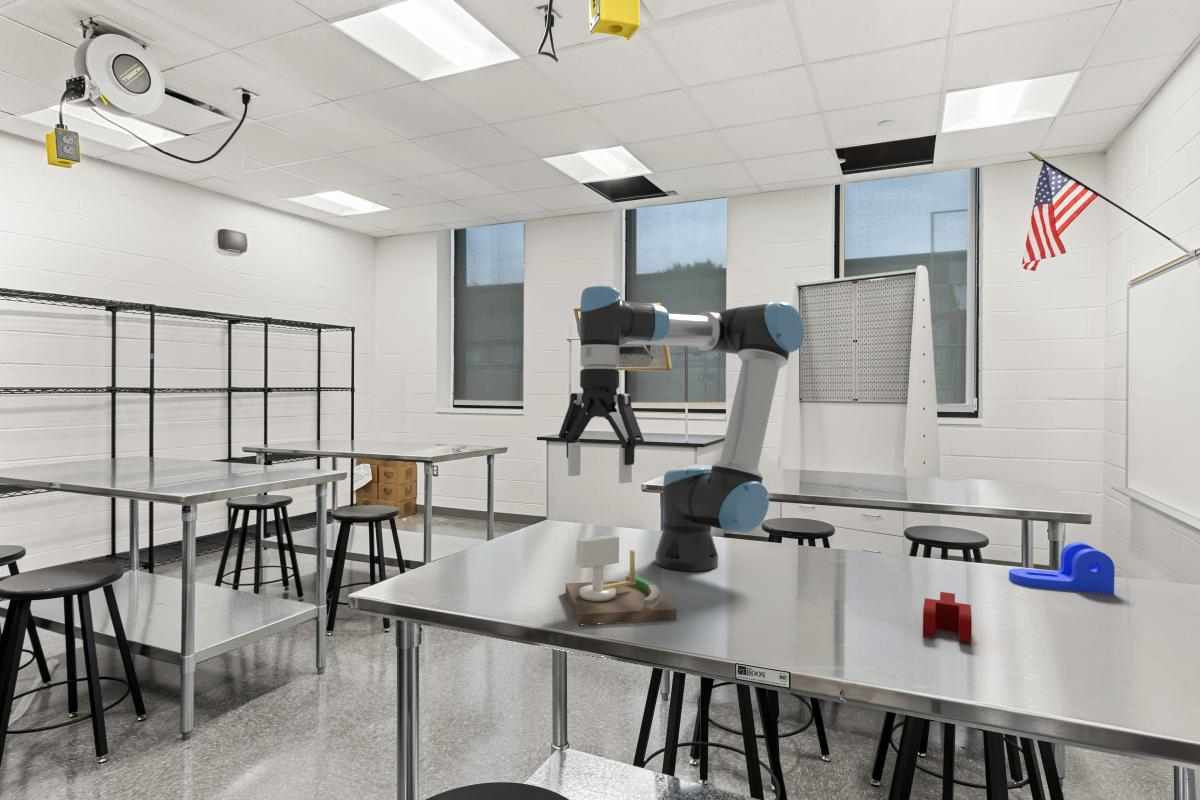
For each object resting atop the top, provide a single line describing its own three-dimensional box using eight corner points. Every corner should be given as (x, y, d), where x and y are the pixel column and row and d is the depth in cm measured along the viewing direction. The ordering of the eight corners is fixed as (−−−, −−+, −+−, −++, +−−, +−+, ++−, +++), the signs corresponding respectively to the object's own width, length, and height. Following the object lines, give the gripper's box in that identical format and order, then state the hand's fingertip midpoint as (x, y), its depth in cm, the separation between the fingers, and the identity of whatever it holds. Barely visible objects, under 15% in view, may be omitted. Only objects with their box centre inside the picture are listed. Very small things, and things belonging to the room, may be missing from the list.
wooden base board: (650, 589, 134) (650, 572, 134) (676, 619, 116) (676, 600, 116) (565, 593, 131) (565, 576, 131) (578, 625, 112) (578, 605, 112)
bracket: (1096, 584, 141) (1097, 543, 141) (1114, 595, 134) (1114, 552, 133) (1004, 576, 147) (1004, 537, 147) (1015, 586, 139) (1016, 545, 139)
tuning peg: (570, 593, 123) (571, 536, 123) (624, 583, 130) (624, 530, 130) (589, 603, 117) (589, 544, 117) (644, 593, 124) (644, 536, 124)
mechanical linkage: (971, 648, 104) (971, 618, 104) (922, 640, 108) (923, 610, 108) (969, 619, 118) (969, 592, 118) (926, 612, 122) (926, 586, 122)
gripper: (542, 369, 128) (541, 474, 128) (636, 366, 111) (635, 487, 111) (569, 370, 133) (568, 471, 133) (663, 367, 116) (662, 483, 116)
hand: (598, 479), depth 122 cm, fingers open, 13 cm apart
